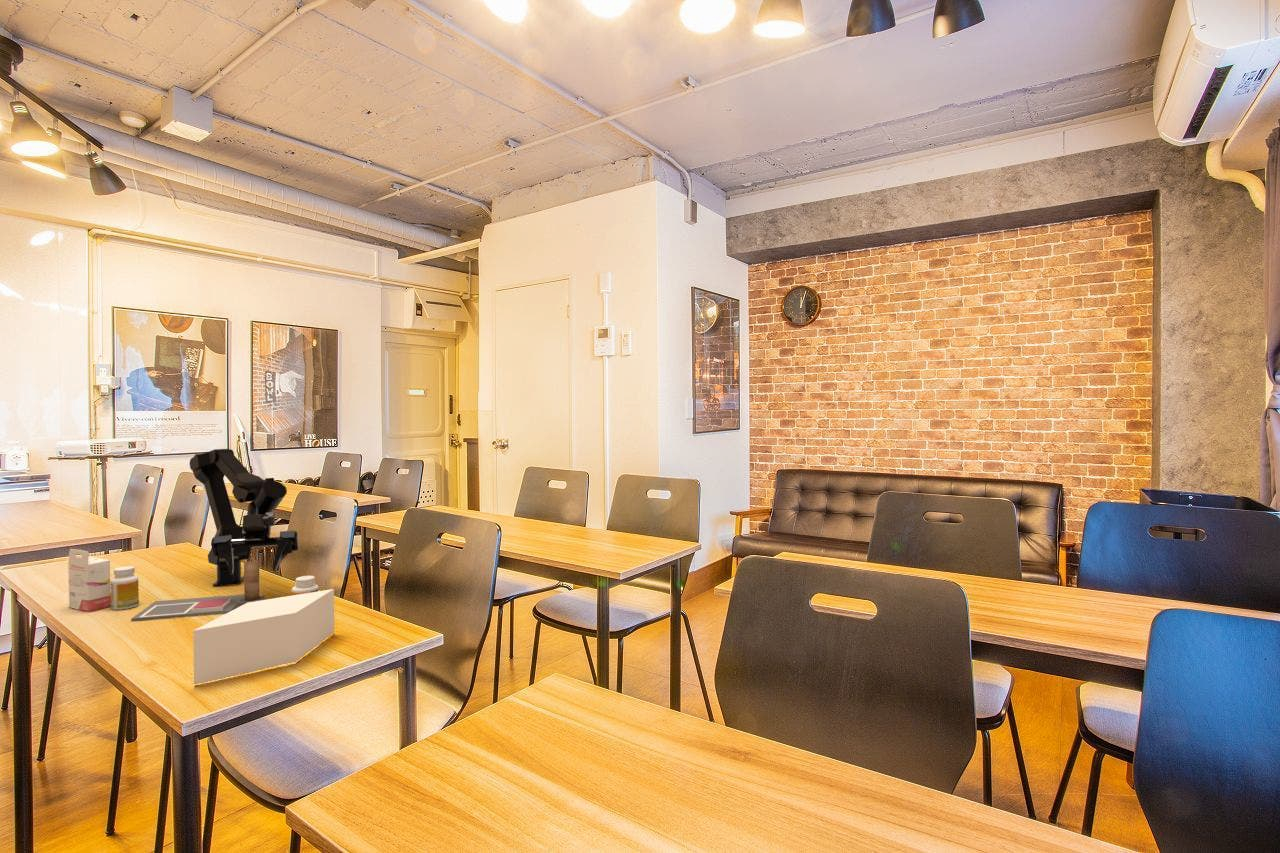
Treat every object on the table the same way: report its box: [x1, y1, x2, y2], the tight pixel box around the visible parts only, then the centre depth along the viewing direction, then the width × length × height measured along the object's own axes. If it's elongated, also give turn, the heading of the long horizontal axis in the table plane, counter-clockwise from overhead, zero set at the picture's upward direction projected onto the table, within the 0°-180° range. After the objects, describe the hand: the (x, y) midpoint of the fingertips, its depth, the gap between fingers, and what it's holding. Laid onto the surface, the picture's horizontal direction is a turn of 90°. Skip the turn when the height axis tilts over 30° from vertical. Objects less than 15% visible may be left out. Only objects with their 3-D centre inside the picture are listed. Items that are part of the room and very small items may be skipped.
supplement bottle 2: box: [291, 575, 320, 596], centre depth 147 cm, size 6×6×10 cm
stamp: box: [237, 560, 266, 608], centre depth 156 cm, size 5×5×12 cm
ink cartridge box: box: [67, 548, 111, 613], centre depth 156 cm, size 9×5×15 cm, turn 68°
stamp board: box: [130, 593, 244, 622], centre depth 156 cm, size 14×20×2 cm
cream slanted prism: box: [192, 588, 335, 685], centre depth 126 cm, size 14×29×10 cm, turn 155°
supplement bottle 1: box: [110, 565, 140, 611], centre depth 157 cm, size 5×5×10 cm
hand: (253, 571), depth 157 cm, fingers open, 9 cm apart
